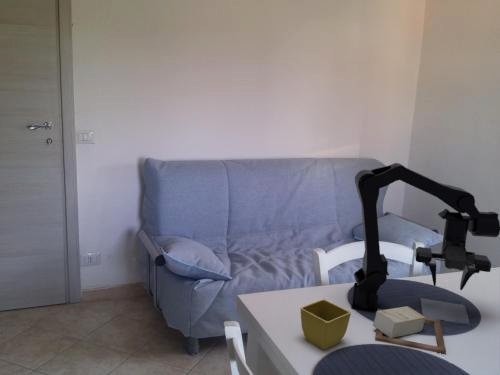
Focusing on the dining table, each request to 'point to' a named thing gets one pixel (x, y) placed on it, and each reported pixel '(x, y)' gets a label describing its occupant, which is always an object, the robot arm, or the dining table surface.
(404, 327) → the skincare box
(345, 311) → the flower pot
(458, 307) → the grey square plate
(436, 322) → the walnut holder frame
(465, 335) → the dining table surface
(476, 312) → the dining table surface
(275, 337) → the dining table surface
